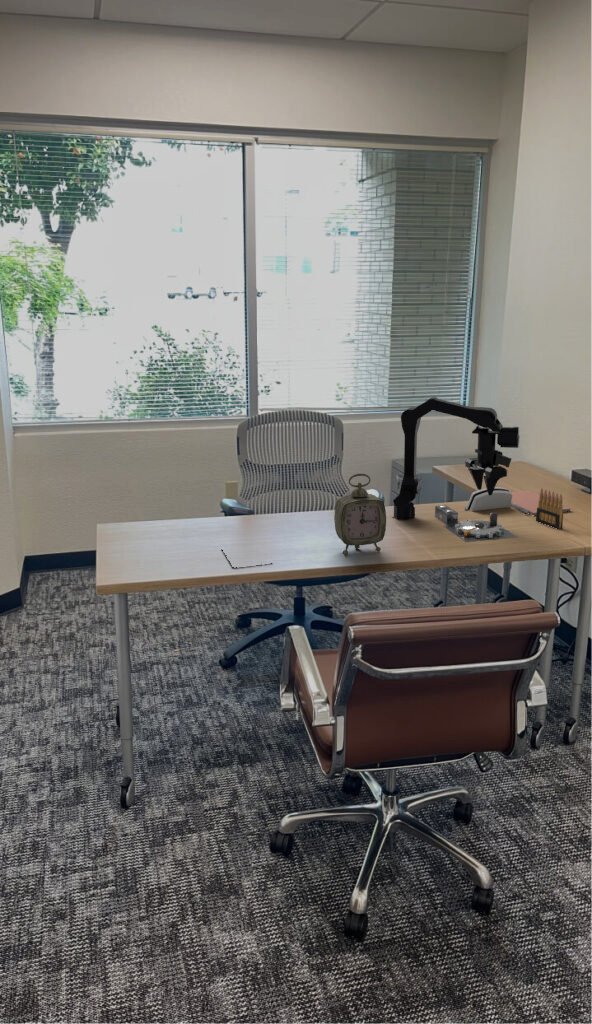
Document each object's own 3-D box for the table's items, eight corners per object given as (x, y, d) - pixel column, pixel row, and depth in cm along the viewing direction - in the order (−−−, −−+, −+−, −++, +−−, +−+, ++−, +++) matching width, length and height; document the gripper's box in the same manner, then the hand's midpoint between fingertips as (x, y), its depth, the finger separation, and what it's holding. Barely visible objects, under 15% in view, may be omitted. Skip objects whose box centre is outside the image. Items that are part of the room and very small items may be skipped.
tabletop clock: (341, 558, 230) (340, 478, 223) (333, 548, 239) (332, 472, 232) (385, 553, 234) (386, 475, 226) (376, 544, 242) (376, 468, 235)
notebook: (490, 498, 292) (490, 493, 291) (528, 494, 296) (528, 489, 296) (530, 517, 267) (530, 512, 266) (571, 513, 271) (571, 507, 271)
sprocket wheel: (467, 540, 240) (468, 523, 238) (446, 525, 255) (447, 510, 253) (512, 535, 243) (513, 519, 242) (489, 521, 258) (490, 506, 257)
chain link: (446, 527, 257) (447, 513, 256) (434, 519, 267) (435, 505, 265) (457, 526, 258) (458, 511, 257) (445, 518, 267) (445, 504, 266)
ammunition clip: (562, 528, 253) (565, 494, 249) (558, 529, 252) (561, 495, 249) (539, 520, 262) (542, 487, 259) (535, 521, 261) (537, 488, 258)
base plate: (466, 545, 239) (466, 542, 239) (442, 528, 256) (442, 525, 255) (517, 539, 243) (517, 536, 243) (490, 523, 260) (491, 521, 259)
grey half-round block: (503, 505, 281) (509, 483, 275) (509, 512, 277) (516, 490, 272) (463, 509, 277) (468, 487, 271) (469, 517, 273) (474, 494, 267)
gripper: (523, 450, 242) (520, 497, 246) (495, 439, 259) (493, 483, 263) (491, 452, 239) (489, 500, 244) (465, 442, 257) (463, 486, 261)
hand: (484, 492), depth 253 cm, fingers open, 7 cm apart
